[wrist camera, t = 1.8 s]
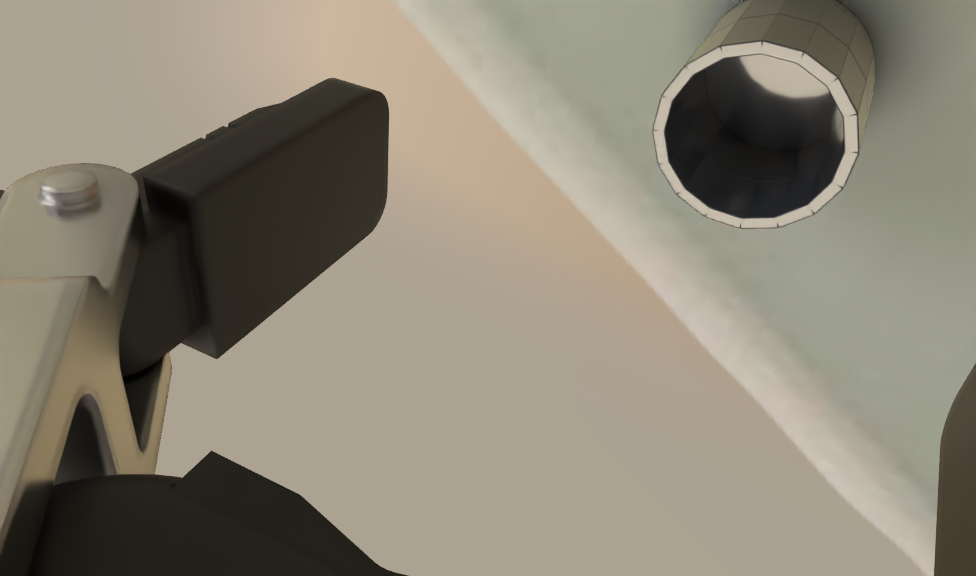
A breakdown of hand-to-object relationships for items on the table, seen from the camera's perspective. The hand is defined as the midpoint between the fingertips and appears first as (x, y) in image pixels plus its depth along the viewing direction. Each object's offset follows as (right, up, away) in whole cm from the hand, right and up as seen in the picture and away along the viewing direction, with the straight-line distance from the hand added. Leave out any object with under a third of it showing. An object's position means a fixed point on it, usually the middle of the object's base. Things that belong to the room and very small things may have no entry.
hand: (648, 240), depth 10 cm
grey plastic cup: (+8, +7, +18) cm, 21 cm away
